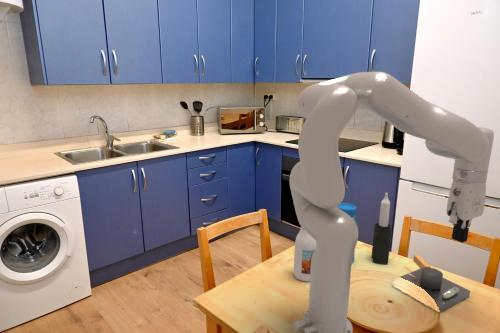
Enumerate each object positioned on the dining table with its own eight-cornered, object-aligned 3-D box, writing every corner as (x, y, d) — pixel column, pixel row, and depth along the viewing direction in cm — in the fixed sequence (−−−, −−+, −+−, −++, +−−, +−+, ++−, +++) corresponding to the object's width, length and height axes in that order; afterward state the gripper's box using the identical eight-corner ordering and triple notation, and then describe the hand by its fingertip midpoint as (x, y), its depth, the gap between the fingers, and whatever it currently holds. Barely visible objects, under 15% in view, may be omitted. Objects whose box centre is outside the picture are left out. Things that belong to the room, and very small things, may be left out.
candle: (388, 265, 118) (396, 195, 113) (372, 263, 119) (379, 194, 114) (385, 258, 123) (393, 191, 117) (370, 256, 124) (377, 190, 118)
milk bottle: (291, 279, 109) (293, 220, 104) (295, 267, 116) (298, 211, 111) (316, 284, 107) (319, 223, 102) (318, 271, 114) (322, 214, 109)
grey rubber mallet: (444, 289, 100) (447, 276, 99) (425, 289, 100) (427, 276, 99) (423, 267, 113) (425, 254, 112) (406, 267, 113) (407, 254, 112)
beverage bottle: (354, 267, 117) (359, 211, 112) (328, 263, 119) (332, 208, 115) (354, 256, 124) (359, 203, 120) (330, 252, 127) (334, 200, 122)
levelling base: (438, 313, 94) (440, 300, 93) (391, 285, 106) (392, 274, 105) (469, 296, 101) (471, 285, 100) (422, 273, 113) (423, 262, 113)
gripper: (468, 182, 83) (457, 252, 87) (500, 174, 90) (488, 239, 95) (438, 175, 89) (429, 240, 94) (470, 168, 97) (460, 229, 101)
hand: (459, 240), depth 94 cm, fingers closed
